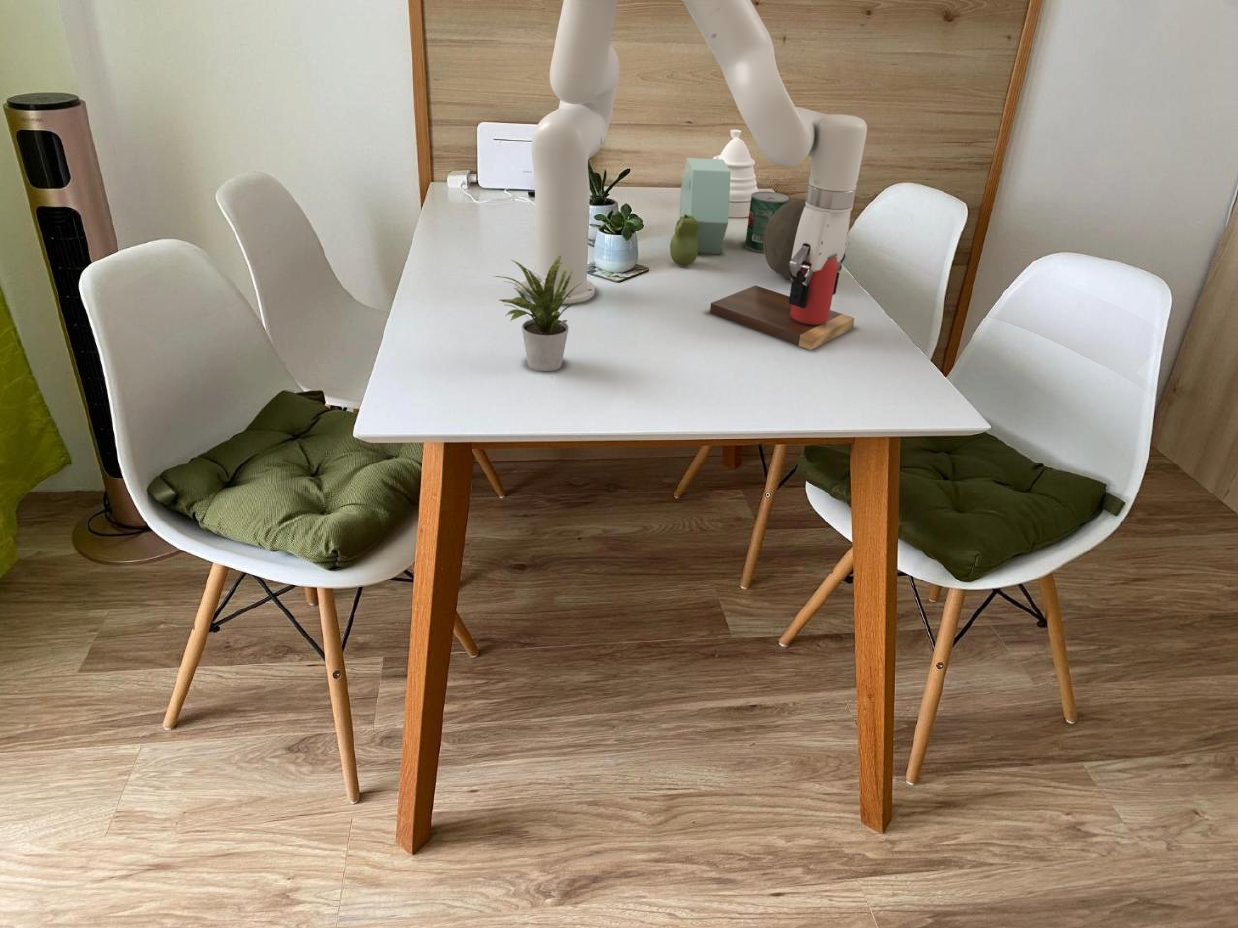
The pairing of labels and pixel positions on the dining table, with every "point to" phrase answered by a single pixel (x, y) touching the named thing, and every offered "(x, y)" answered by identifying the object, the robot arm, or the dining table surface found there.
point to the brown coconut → (782, 236)
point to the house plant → (543, 318)
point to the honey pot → (739, 175)
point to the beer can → (818, 295)
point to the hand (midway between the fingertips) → (812, 298)
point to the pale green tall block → (706, 200)
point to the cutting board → (778, 317)
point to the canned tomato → (761, 216)
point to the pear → (685, 241)
